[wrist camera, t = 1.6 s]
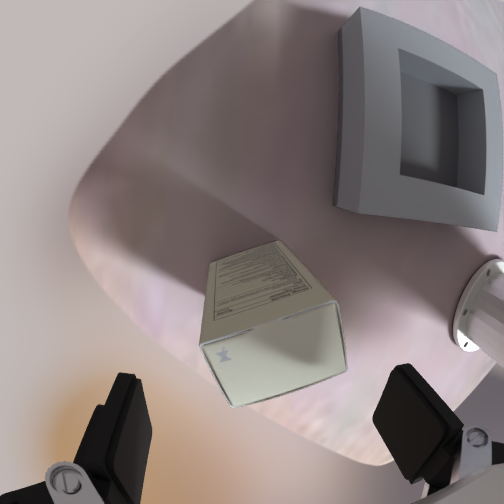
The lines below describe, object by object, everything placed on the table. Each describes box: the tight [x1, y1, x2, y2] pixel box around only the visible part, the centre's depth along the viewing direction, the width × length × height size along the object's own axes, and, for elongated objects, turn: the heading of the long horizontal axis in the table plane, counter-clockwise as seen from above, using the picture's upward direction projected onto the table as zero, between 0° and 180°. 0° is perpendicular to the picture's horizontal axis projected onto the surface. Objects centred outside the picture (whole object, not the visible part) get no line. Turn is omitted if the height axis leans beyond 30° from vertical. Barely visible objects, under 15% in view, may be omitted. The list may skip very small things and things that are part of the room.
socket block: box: [333, 7, 503, 232], centre depth 19 cm, size 16×16×5 cm
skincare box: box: [199, 240, 348, 408], centre depth 18 cm, size 6×4×12 cm
